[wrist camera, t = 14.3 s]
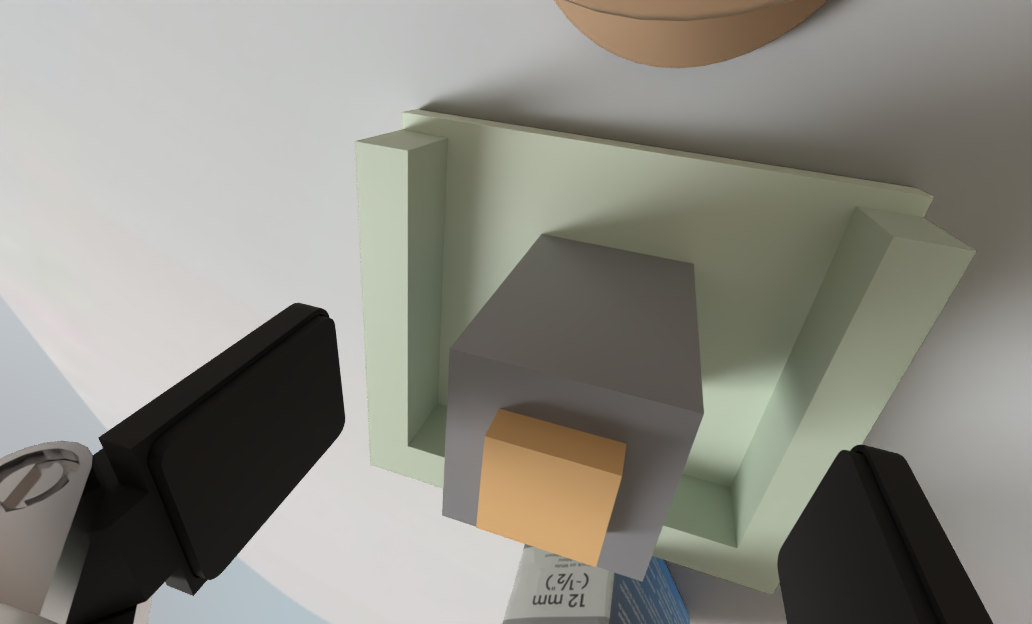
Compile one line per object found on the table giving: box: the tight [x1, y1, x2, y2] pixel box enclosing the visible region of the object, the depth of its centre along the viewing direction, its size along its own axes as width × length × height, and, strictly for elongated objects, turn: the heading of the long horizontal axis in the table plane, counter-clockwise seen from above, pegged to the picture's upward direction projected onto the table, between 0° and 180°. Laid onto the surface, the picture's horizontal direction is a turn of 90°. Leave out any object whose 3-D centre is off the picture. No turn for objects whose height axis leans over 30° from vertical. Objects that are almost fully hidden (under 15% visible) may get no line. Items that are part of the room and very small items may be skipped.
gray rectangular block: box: [442, 234, 704, 582], centre depth 12 cm, size 4×4×8 cm
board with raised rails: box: [355, 109, 977, 595], centre depth 16 cm, size 13×14×4 cm
